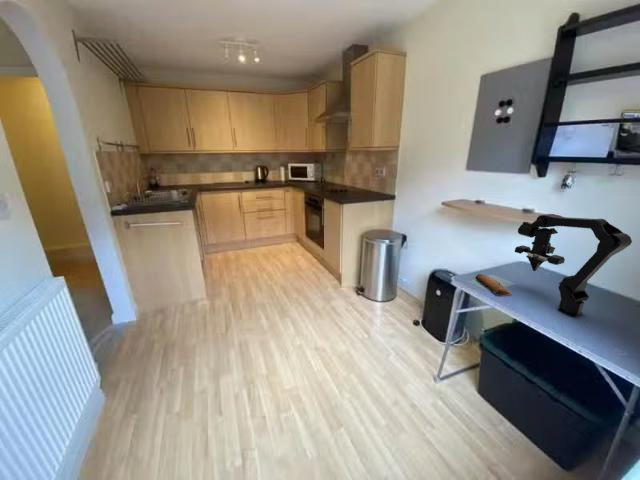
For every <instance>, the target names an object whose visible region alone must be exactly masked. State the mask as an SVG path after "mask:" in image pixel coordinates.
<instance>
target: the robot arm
mask: <svg viewBox="0 0 640 480" xmlns="http://www.w3.org/2000/svg"><path fill="white" fill-rule="evenodd" d="M554 227H566V228H579V229H580V228H581V229H590V230H591V231H592V232H593V234H594V237H595V238H596V239H597V240H598V241H599V242H598V244H597V245H596V246H597V247H596V251H595V252H594V253H593V255H591V257H590V258H589V259H587V261H586V262H585V263H584V264H583V265H582V266H581V267H580V269H579V270H578V271H577V272H576V273H575V274H574V275H569V276H564V277H563V279H562V280H561V281H560V282H559V283H558V290H559V297H560V301H559V305H558V308H557V311H559V312H561V313H564V314H566V315H568V316H570V317H573V318H576V317H578V316H581V315H583V313H584V312H582V310H583V308H584V304H585V302H586V301H588V300H589V299H590V295H588V293H587V291H586V290H585V289H586V288H587V286H588V281H589V280H591V278H592V277H593V276H594V275H595V274H596V273H597V272H598V271H599V270H600V269H601V268H602V267H603V266H604V265H605V264H606V263H607V262H608V261H609V260H610V259H611V258H612V257H613V256H614V255H617V254H618V253H620V252H622V251H624V250H625V249H627V248H628V247H630V246H631V244H632V243H633V241H632V238H631V236H630V235H629V234H627V233H624V232H623V231H622V230H621V229H620V228H618V227H616V226H614V225H613V224H611V223H609V222H608V221H607V220H606V219H604V218H585V217H584V218H581V217H565V216H562V215H559V214H555V213H549V214H547V213H546V214H541V215H538V217H537V218H536V220H534V221H533V222H529V221H522V224H520V226H519V227H518V229H517V234H519V235H520V236H524V237H527V238H532V239H533V238H534V239H533V241H532V242H531V245H532V248H531V247H530V246H527V245H519V246H516V247H515V248H514V253H517V254H520V255H521V254H523V253H526V254H527V255H526V256H525V258H527V259H528V261H529V263H530V266H531V269H532V272H536V271H538V269H539V268H540V266H541V265H542V264H543V263H544V262H547V263H549V264H551V265H555V266H559V265H561V264H565V260H566V259H565V257H564V256H561V255H558V254H554V251H555V250H556V247H554V246H552V244H551V238H552V235H555V234H558V231H557V229H555V228H554ZM550 254H552V255H550Z"/></svg>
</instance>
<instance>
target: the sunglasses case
mask: <svg viewBox="0 0 640 480" xmlns="http://www.w3.org/2000/svg"><path fill="white" fill-rule="evenodd" d="M475 279H477V280H478V281H480V282H482V283H483V284H484V285H486V286H487V287H489V288H490V289H491V290H492V292H493V293H495V294H496V295H497V296H499V297H506V296H511V295H512V292H510V291H509V290H508V289H507V287H503V286H502V285H501V284H500V283H499V282H498V281H496V280H494V279H492V278H490V277H488V275H485V274H481V273H478V274H476V275H475Z"/></svg>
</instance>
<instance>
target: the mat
mask: <svg viewBox="0 0 640 480" xmlns="http://www.w3.org/2000/svg"><path fill="white" fill-rule="evenodd" d="M487 276H488V277H490V278H492V279H494V280H496V281H498V282H499V283H500V284H501V285H502V286H503V287H505V288H508V287H511V286H514V285H516V283H514V282H513V281H510V280H507V279H504V278H502V277H500V276H498V275H495V274H494V273H492V274H489V275H487ZM467 283H470V284H472V285H473V286H476V287H478V288H479V289H483V290H484V291H486V292H489V293H492V292H493V291H492V290H491V289H490V288H489V287H487V286H486V285H484V284H483V283H482V282H480V281H478V280H477V279H476V278H475V279H471V280H467Z"/></svg>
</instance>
